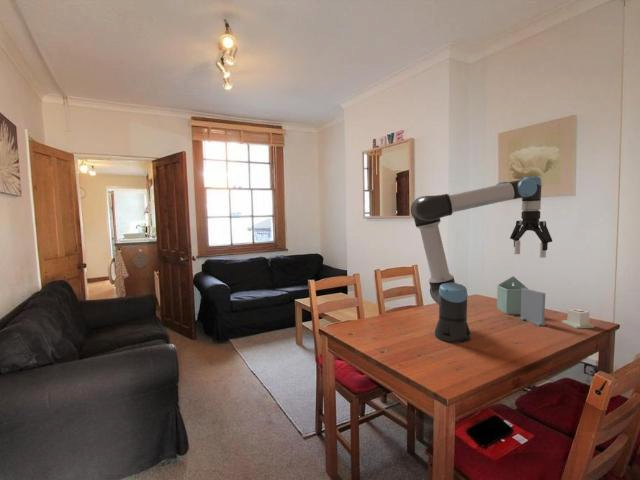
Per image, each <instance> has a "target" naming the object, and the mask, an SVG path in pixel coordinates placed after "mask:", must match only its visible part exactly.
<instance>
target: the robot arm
mask: <svg viewBox="0 0 640 480" xmlns="http://www.w3.org/2000/svg"><path fill="white" fill-rule="evenodd" d="M542 188H543V185H542V177H540V176H524V177H523V178H522V179H518V180H511V181H501V182H497V183H496V184H495V185H491V186H487V187H486V186H485V187H481V188H478V189H473V190H469V191H464V192H460V193H455V194H451V195H450V194H449V193H445V194H439V195H437V194H436V195H423V196H420V197H419V196H418V197H416V199H414V200H413V202H412V203H411V205H410V214H411V216H412V218H413V221H414V224H415V227H416V228H417V229H418V230H420V231H419V232H420V235H421V240H422V244H423V248H424V252H425V256H426V260H427V264H428V268H429V273H430V278H429V279H428V283H429V295H430V297H431V299H432V300H433V302H435V303H436V304H437V305H438V321H437V323H436V326H435V329H434V336H435V337H436V338H437V339H439V340H441V341H444V342H448V343H456V344H457V343H460V344H461V343H467V342H469V341H471V340H472V338H471V337H472V333H471V330H470V327H469V323H468V297H469V295H468V289H467V288H466V286H464V285H463V284H460V283H457V282H455V281H456V280H455V278H454V277H455V276H454V275H453V274H451V273H450V271H449V266H448V265H449V264H448V261H447V258H446V253H445V249H444V244H443V241H442V240H443V239H442V236H441V231H440V228H439V225H440V223H441V218H445V217H448V216H452V215H453V214H454V213H456V212H461V211H465V210H466V211H467V210H469V209H475V208H479V207H483V206H489V205H492V204H497V203H502V202H506V201H511V200H516V199H521V216H520V218H521V219H522V220H516V222H515V226H514V229H512V233H511V234H510V237H509V239H510V240H513V248H514V255H521V240H520V239H521V238H522V237H523V235H524V234H525V233H526V232H527V231H530V232H531V231H532V232H534V233H535V235H536V236H537V237H538V239H539V240H540V241H541V243H539V258H541V259H542V258H543V259H544V258H545V259H546V257H547V250H548V247H549V246H548V245H549V243H553V238H552V235H551V234H550V231H549V229H548V227H547V221H546V220H542V221H541V220H540V219H541V211H540V210H541V204H542Z"/></svg>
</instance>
